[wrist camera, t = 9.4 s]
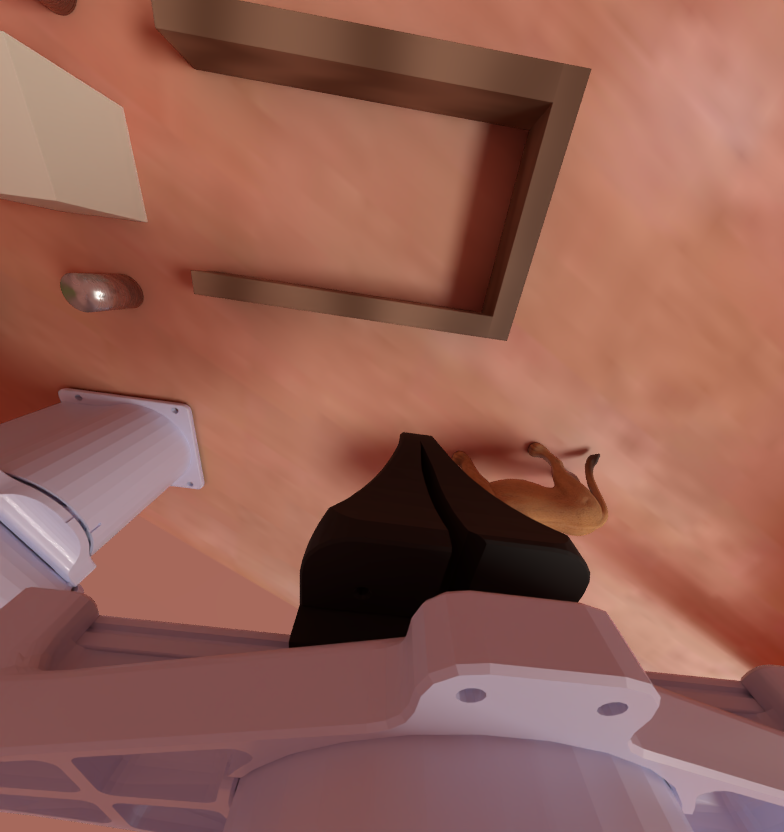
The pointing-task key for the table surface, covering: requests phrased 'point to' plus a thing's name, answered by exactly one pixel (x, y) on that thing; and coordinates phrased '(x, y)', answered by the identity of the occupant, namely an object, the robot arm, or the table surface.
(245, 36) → the stall
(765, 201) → the table surface
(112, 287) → the posts
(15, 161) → the cube
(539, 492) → the lion figurine
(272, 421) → the table surface
